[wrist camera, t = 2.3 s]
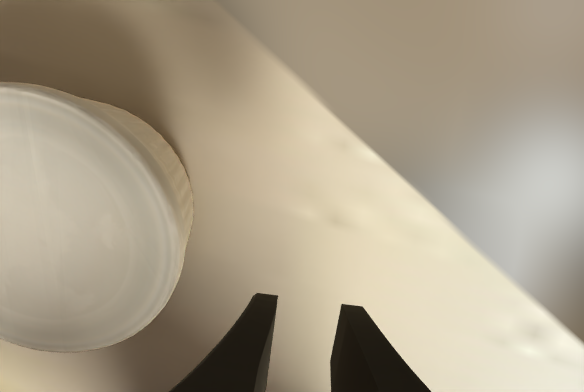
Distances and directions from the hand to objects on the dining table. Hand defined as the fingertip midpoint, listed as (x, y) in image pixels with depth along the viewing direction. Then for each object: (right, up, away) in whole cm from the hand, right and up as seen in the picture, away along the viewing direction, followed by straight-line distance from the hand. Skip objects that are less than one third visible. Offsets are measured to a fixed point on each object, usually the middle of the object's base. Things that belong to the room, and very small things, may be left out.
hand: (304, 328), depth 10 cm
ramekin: (-10, +4, +8) cm, 14 cm away
